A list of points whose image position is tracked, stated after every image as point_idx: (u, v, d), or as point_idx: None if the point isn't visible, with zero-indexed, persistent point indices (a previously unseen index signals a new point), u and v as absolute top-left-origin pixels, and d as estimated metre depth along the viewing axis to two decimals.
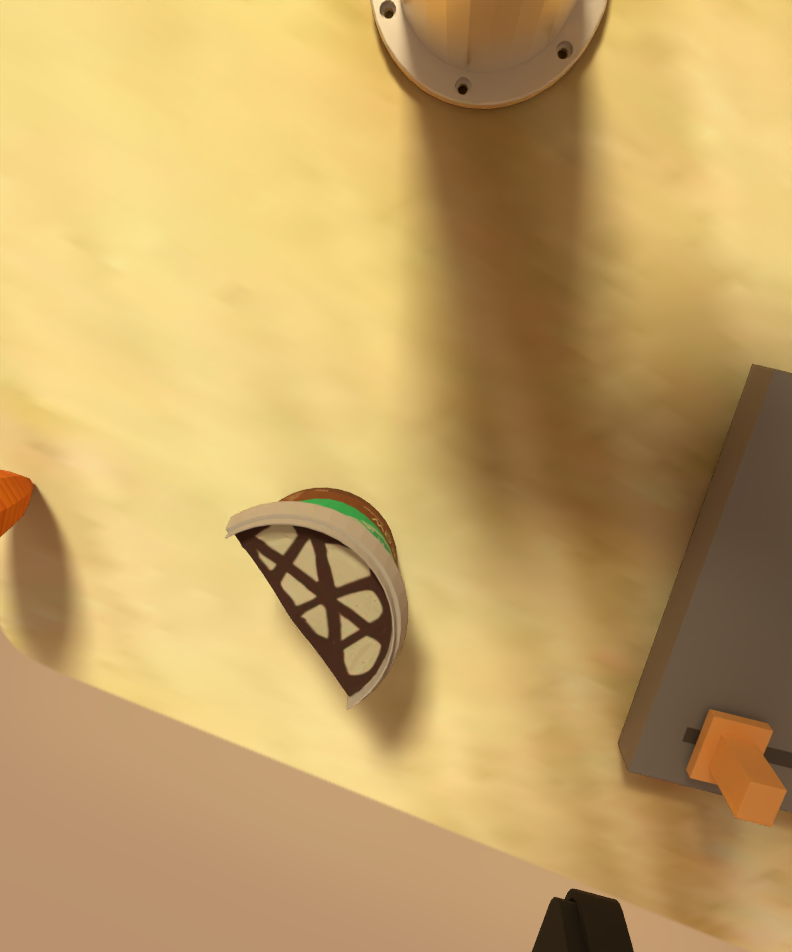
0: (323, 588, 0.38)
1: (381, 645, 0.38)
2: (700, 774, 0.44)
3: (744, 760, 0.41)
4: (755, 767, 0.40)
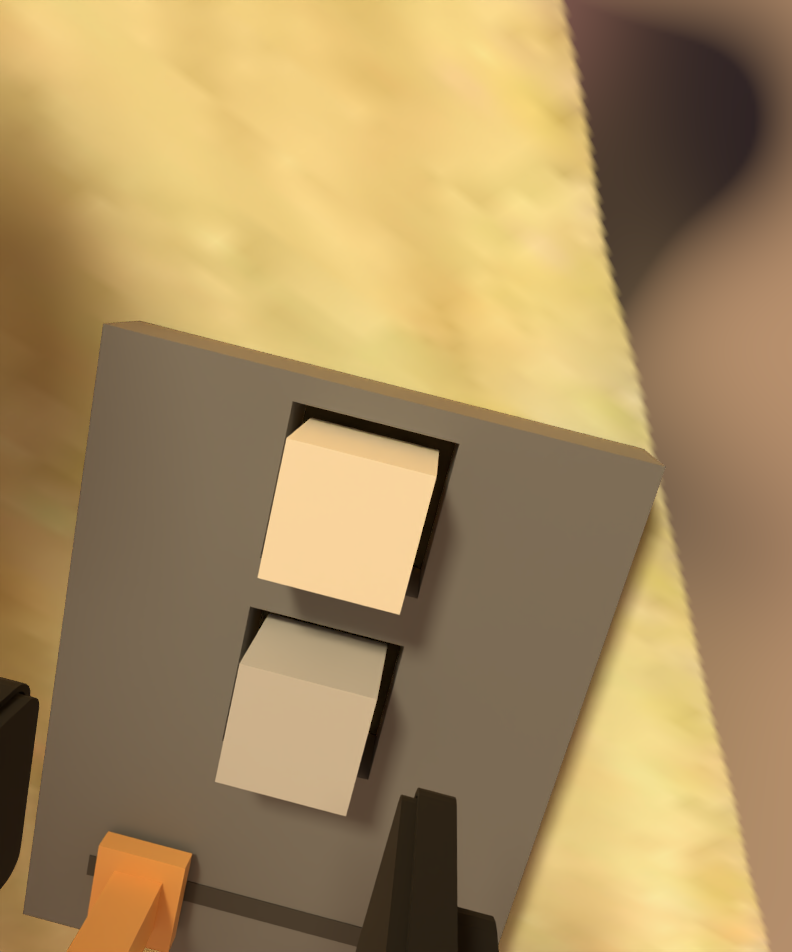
0: None
1: None
2: None
3: (97, 922, 0.27)
4: (102, 937, 0.26)
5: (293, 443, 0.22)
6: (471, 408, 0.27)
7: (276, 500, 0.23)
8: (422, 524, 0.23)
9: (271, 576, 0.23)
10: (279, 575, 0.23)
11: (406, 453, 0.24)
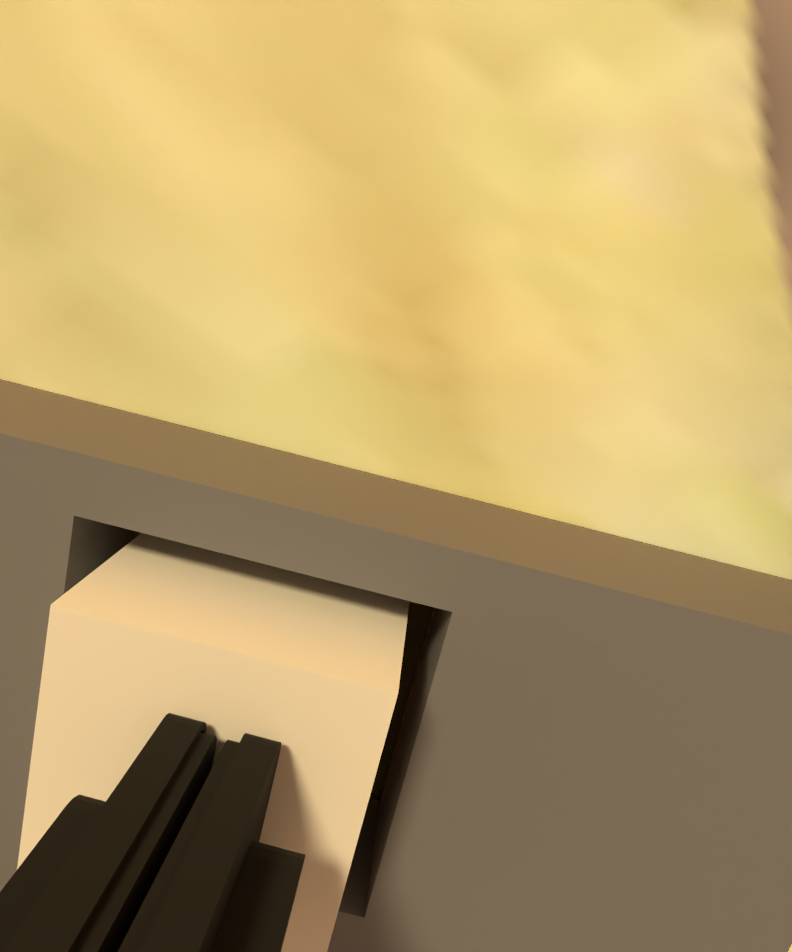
0: None
1: None
2: None
3: None
4: None
5: (67, 616, 0.10)
6: (477, 513, 0.13)
7: (40, 735, 0.10)
8: (367, 793, 0.10)
9: None
10: None
11: (340, 607, 0.12)
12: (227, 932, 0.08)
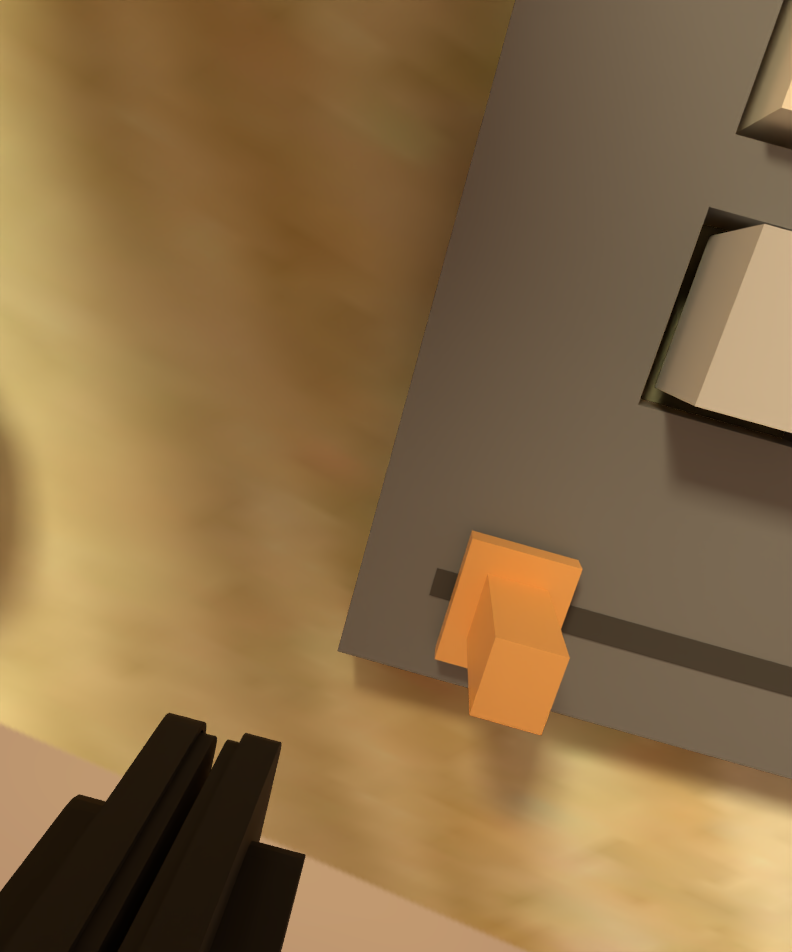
0: None
1: None
2: (453, 652, 0.24)
3: (507, 609, 0.21)
4: (523, 620, 0.20)
5: None
6: None
7: None
8: None
9: None
10: None
11: None
12: (227, 932, 0.08)
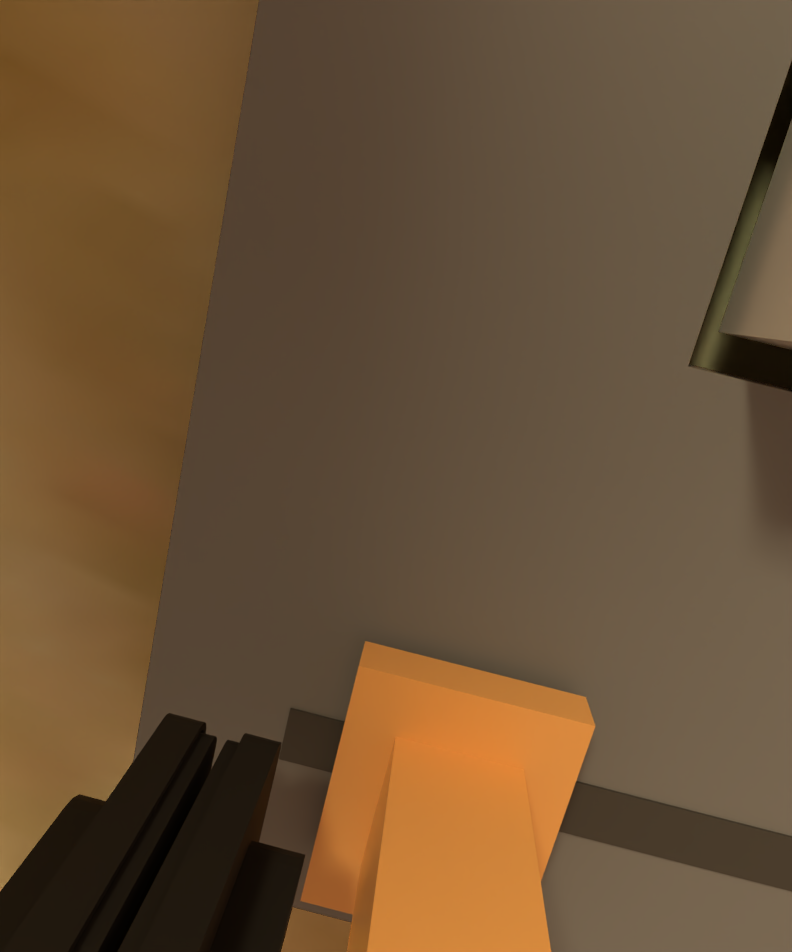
0: None
1: None
2: (336, 889, 0.12)
3: (418, 863, 0.09)
4: (452, 907, 0.08)
5: None
6: None
7: None
8: None
9: None
10: None
11: None
12: (227, 932, 0.08)
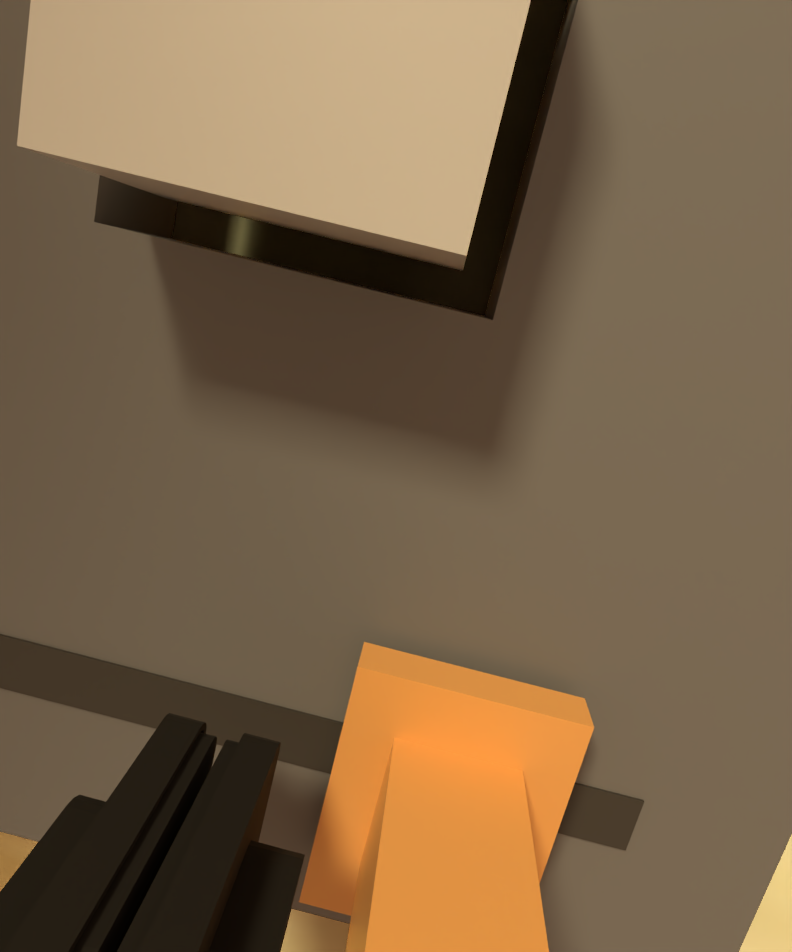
0: None
1: None
2: (334, 890, 0.12)
3: (416, 864, 0.09)
4: (450, 908, 0.08)
5: None
6: None
7: None
8: None
9: None
10: None
11: None
12: (226, 932, 0.08)
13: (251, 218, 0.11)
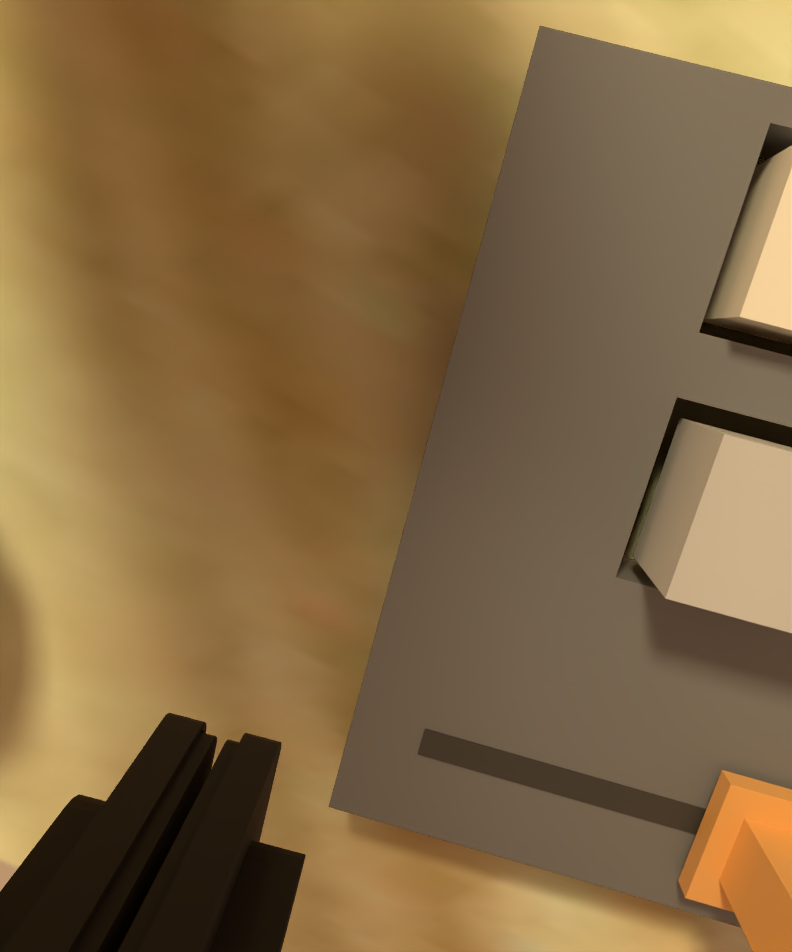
0: None
1: None
2: (704, 892, 0.24)
3: (791, 876, 0.21)
4: None
5: None
6: None
7: (776, 218, 0.20)
8: None
9: (757, 314, 0.20)
10: (767, 312, 0.20)
11: None
12: (227, 932, 0.08)
13: None
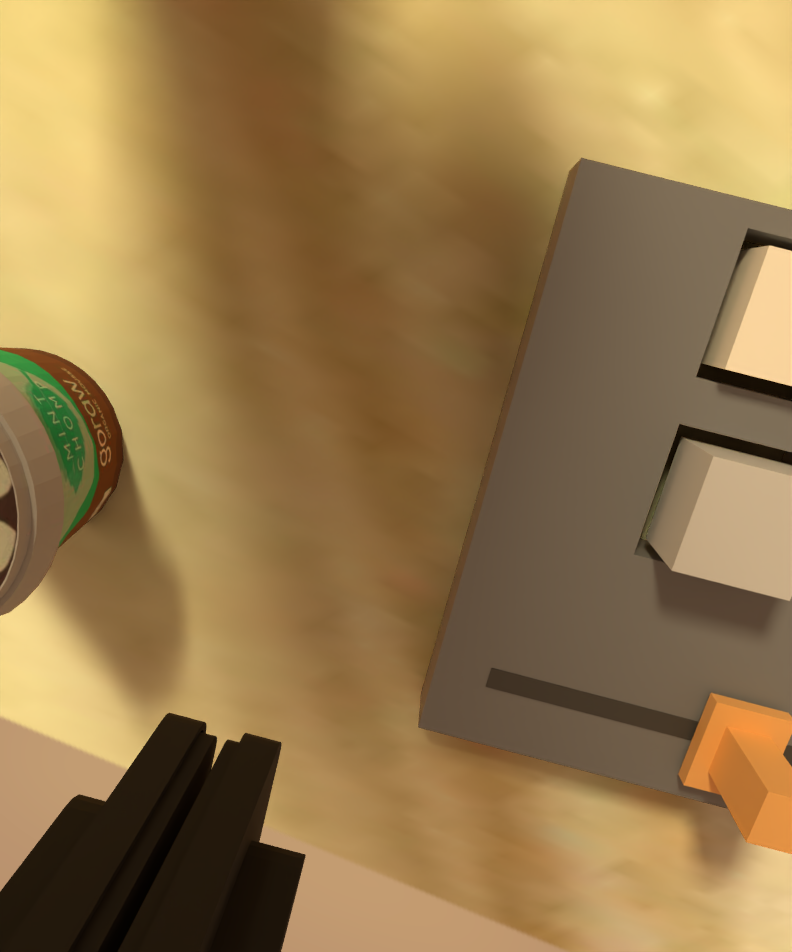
0: None
1: (16, 532, 0.27)
2: (697, 780, 0.33)
3: (759, 762, 0.30)
4: (774, 772, 0.29)
5: (774, 250, 0.27)
6: None
7: (751, 300, 0.28)
8: None
9: (737, 367, 0.28)
10: (744, 366, 0.28)
11: None
12: (227, 932, 0.08)
13: None
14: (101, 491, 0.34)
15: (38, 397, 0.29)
